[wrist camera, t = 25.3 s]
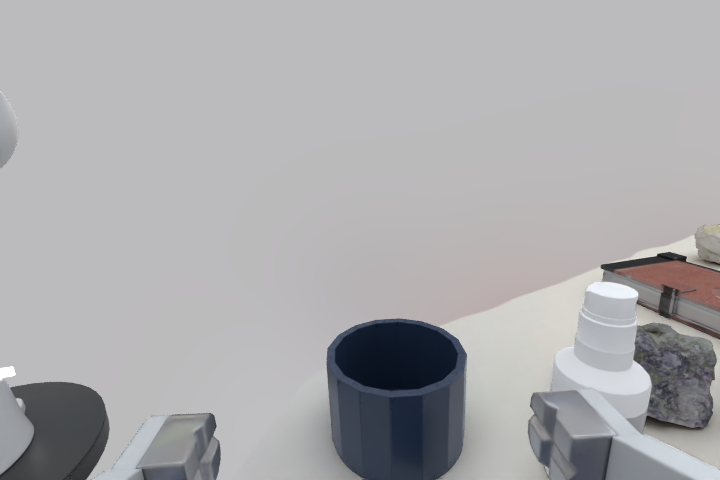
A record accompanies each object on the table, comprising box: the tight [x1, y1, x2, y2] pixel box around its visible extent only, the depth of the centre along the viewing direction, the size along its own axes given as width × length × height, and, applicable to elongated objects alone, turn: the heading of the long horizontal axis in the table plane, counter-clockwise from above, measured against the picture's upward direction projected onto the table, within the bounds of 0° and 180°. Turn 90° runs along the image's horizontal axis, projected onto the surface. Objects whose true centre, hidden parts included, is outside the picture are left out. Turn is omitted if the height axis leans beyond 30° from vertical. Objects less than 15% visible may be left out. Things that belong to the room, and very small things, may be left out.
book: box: [601, 252, 720, 339], centre depth 62 cm, size 26×18×5 cm
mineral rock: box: [633, 323, 717, 428], centre depth 41 cm, size 13×11×10 cm
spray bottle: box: [544, 282, 652, 476], centre depth 31 cm, size 7×7×18 cm
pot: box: [327, 319, 467, 480], centre depth 39 cm, size 14×14×10 cm
